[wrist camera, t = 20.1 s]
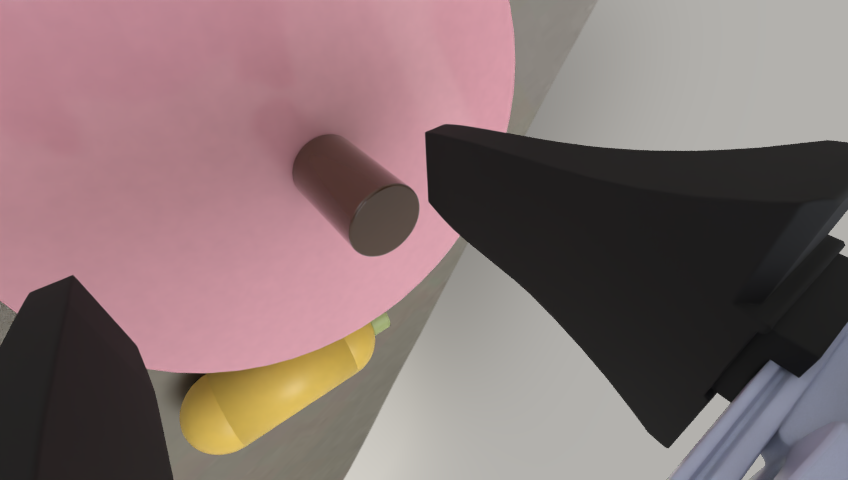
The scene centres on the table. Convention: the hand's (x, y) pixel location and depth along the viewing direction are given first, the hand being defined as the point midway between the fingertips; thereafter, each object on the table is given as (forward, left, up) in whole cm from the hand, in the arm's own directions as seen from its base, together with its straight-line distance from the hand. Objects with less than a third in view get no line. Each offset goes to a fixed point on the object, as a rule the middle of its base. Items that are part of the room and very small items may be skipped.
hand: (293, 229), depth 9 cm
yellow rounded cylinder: (-1, -16, -10) cm, 19 cm away
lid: (+3, -2, -5) cm, 6 cm away
